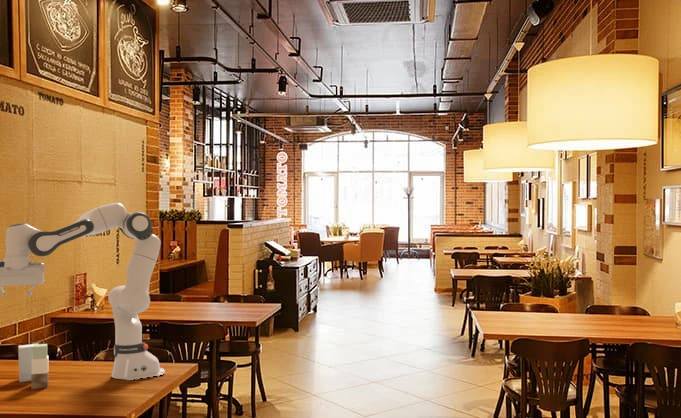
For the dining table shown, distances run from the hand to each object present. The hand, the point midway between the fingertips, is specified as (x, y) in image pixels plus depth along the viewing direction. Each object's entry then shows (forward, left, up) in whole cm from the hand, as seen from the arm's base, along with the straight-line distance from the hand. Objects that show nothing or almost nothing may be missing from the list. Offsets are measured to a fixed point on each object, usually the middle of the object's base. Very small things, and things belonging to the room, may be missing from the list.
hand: (17, 296), depth 265 cm
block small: (-9, +4, -25) cm, 27 cm away
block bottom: (-9, +4, -37) cm, 39 cm away
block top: (-9, +4, -31) cm, 33 cm away
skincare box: (-4, -9, -37) cm, 39 cm away
